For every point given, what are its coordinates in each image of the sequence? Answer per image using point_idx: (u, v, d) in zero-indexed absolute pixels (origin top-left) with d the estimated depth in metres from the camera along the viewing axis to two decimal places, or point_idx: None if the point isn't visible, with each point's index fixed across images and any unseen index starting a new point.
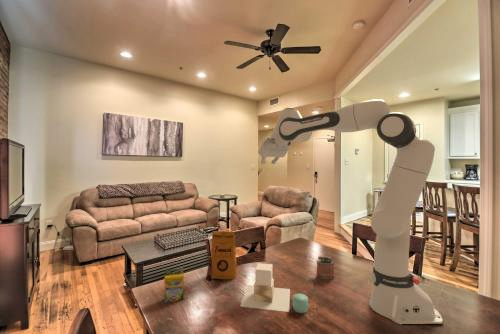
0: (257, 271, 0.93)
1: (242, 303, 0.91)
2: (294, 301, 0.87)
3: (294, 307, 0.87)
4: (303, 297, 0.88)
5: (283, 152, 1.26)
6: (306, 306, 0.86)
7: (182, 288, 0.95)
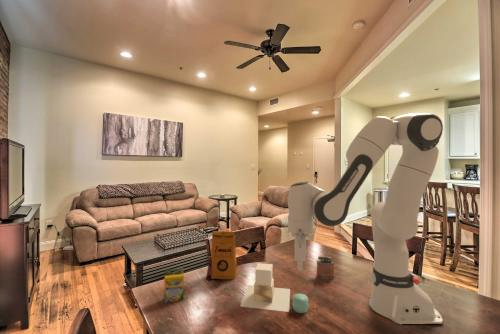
0: (257, 271, 0.93)
1: (242, 303, 0.91)
2: (294, 301, 0.87)
3: (294, 307, 0.87)
4: (303, 297, 0.88)
5: None
6: (306, 306, 0.86)
7: (182, 288, 0.95)
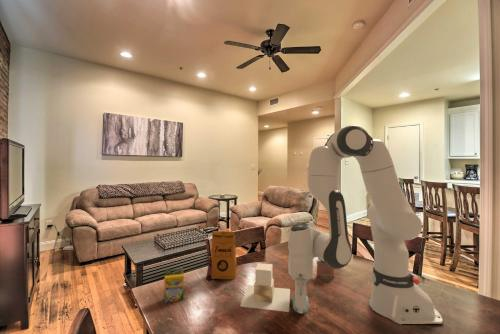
0: (257, 271, 0.93)
1: (242, 303, 0.91)
2: (294, 301, 0.87)
3: (294, 307, 0.87)
4: None
5: None
6: (306, 306, 0.86)
7: (182, 288, 0.95)
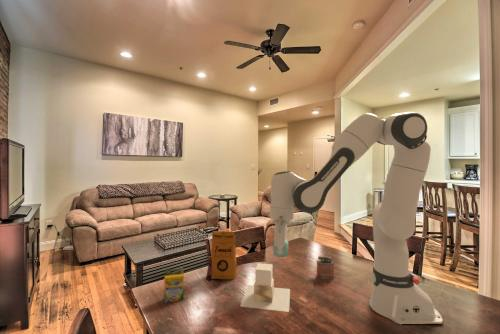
0: (257, 271, 0.93)
1: (242, 303, 0.91)
2: None
3: (275, 250, 0.90)
4: None
5: (286, 225, 0.98)
6: (286, 248, 0.89)
7: (182, 288, 0.95)
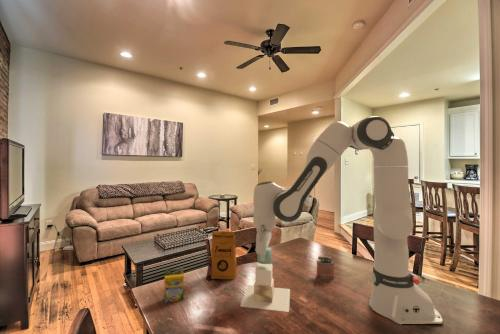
0: (257, 271, 0.93)
1: (242, 303, 0.91)
2: None
3: (258, 257, 0.94)
4: (267, 248, 0.96)
5: (270, 233, 1.02)
6: (269, 255, 0.94)
7: (182, 288, 0.95)
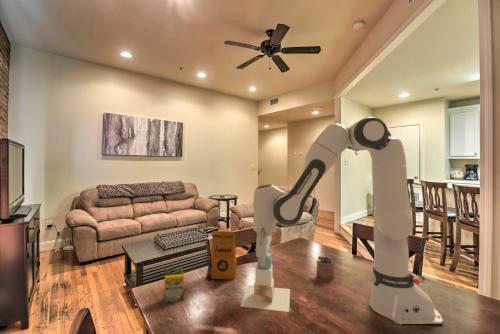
0: (257, 271, 0.93)
1: (242, 303, 0.91)
2: (258, 257, 0.94)
3: (258, 263, 0.94)
4: (267, 254, 0.96)
5: (270, 236, 1.02)
6: (269, 261, 0.94)
7: (182, 288, 0.95)
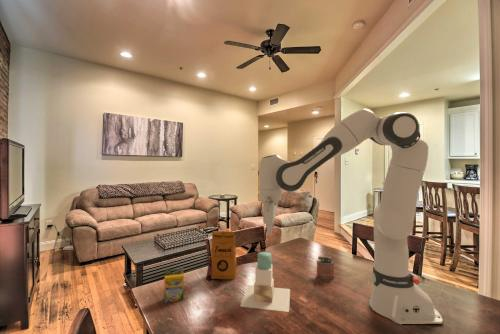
0: (257, 271, 0.93)
1: (242, 303, 0.91)
2: (258, 257, 0.94)
3: (258, 263, 0.94)
4: (267, 254, 0.96)
5: (276, 208, 1.03)
6: (269, 261, 0.94)
7: (182, 288, 0.95)
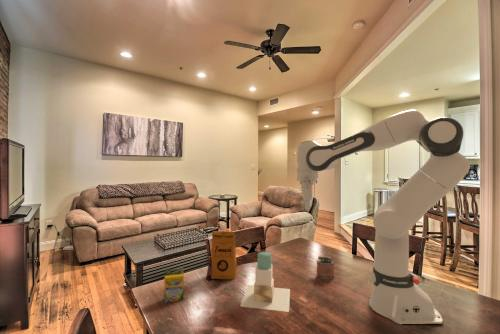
0: (257, 271, 0.93)
1: (242, 303, 0.91)
2: (258, 257, 0.94)
3: (258, 263, 0.94)
4: (267, 254, 0.96)
5: None
6: (269, 261, 0.94)
7: (182, 288, 0.95)
